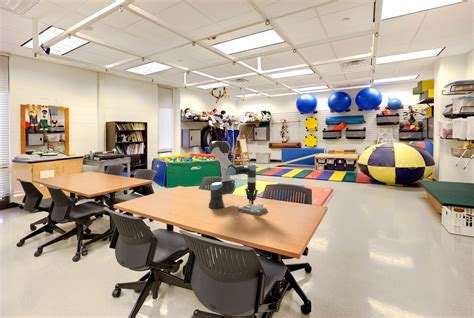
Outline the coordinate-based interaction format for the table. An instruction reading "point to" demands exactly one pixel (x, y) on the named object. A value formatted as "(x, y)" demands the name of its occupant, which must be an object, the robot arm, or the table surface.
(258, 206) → the tab
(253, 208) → the tab
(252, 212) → the switch board
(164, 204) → the table surface
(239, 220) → the table surface
